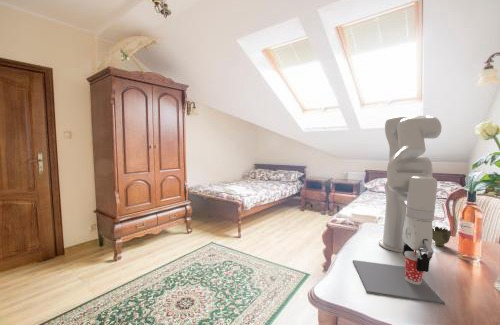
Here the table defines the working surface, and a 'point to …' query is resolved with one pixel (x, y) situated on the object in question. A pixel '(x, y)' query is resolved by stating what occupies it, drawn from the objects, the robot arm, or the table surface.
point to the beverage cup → (412, 268)
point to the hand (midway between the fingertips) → (414, 263)
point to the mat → (393, 282)
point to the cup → (440, 236)
